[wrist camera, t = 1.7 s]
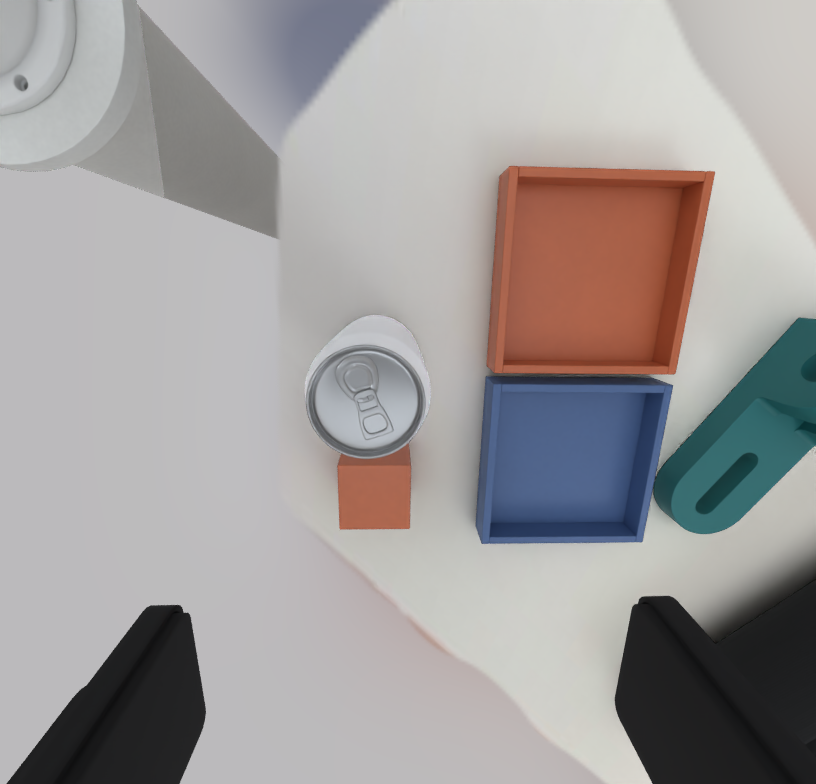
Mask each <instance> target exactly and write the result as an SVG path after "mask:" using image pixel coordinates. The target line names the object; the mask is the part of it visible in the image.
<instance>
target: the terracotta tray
mask: <svg viewBox="0 0 816 784" xmlns="http://www.w3.org/2000/svg"><path fill="white" fill-rule="evenodd" d="M714 175H715V172H711V171H707V172H705V171H674V170H637V169H600V168H562V167H525V166H520V167H518V166H509V167H508V168H507V169H506V170H505V171H504V172H503V173H502V174H501V175H500V177H499V191H498V206H497V220H496V235H495V250H494V264H493V279H492V293H491V308H490V323H489V337H488V352H487V367H488V368H490V369H491V370H492V371H493V372H494V373H549V374H675V373H676V368H677V363H678V358H679V353H680V348H681V343H682V338H683V333H684V327H685V322H686V317H687V312H688V307H689V302H690V297H691V292H692V287H693V282H694V277H695V272H696V266H697V261H698V256H699V251H700V246H701V241H702V236H703V231H704V226H705V221H706V216H707V211H708V205H709V200H710V195H711V190H712V185H713V180H714Z"/></svg>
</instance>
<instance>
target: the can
mask: <svg viewBox="0 0 816 784" xmlns="http://www.w3.org/2000/svg"><path fill="white" fill-rule="evenodd" d="M430 400H431V385H430V380H429V375H428V372H427V369H426V366H425V363H424V360H423V358H422V355H421V352H420V350H419V347H418V345H417V342H416V340H415V338H414V337H413V335H412V333H411V332H410V331H409V330H408V329H407V328H406V327H405V326H404V325H403V324H402V323H400V322H399V321H397V320H395V319H393V318H390V317H387V316H382V315H368V316H364V317H361V318H359V319H357V320H355V321H353V322H352V323H350V324H349V325H347V326H346V327H345V328H344V329H343V330H341V331H340V332H339V333H338V334H337V335H336V336H335V337H334V338H333V339H332V340H331V341H330V342H329V343H328V344H327V345H326V346H325V347H324V348H323V349H322V350H321V351H320V352H319V354H318V355H317V356H316V358H315V359H314V361H313V362H312V364H311V366H310V369H309V371H308V374H307V377H306V382H305V402H306V408H307V414H308V417H309V420H310V423H311V425H312V427H313V429H314V430H315V432H316V433H317V435H318V436H319V437H320V438H321V439H322V441H323V442H325V443H326V444H327V445H328V446H329V447H331V448H332V449H334V450H335V451H337V452H339V453H341V454H344V455H346V456H349V457H353V458H359V459H374V458H380V457H384V456H387V455H390V454H392V453H394V452H396V451H398V450H400V449H401V448H403V447H404V446H405V445H406V444H407V443H409V442H410V441H411V439H412V438H413V437H414V436H415V434H416V433H417V431H418V430H419V428H420V427H421V425H422V424H423V422H424V420H425V418H426V416H427V413H428V410H429V406H430Z"/></svg>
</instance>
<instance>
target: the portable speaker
mask: <svg viewBox="0 0 816 784" xmlns="http://www.w3.org/2000/svg"><path fill="white" fill-rule="evenodd" d="M716 645H717V646H718V647H719V648H720V650H721V651H722V652H723V653H724V654H725V655H726V656H727V657H728V659H729V660H730V661H731V662H732V663H733V664H734V665H735V666H736V668H737V669H738V670H739V671H740V672H741V673H742V674H743V676H744V677H745V678H746V679H747V680H748V681H749V682H750V683H751V685H752V686H753V687H754V688H755V689H756V690H757V691H758V692H759V694H760V695H761V696H762V697H763V698H764V699H765V700H766V701H767V703H768V704H769V705H770V706H771V707H772V708H773V709H774V710H775V712H776V713H777V714H778V715H779V716H780V717H781V718H782V719H783V721H784V722H785V723H786V724H787V725H788V726H789V727H790V728H791V730H792V731H793V732H794V733H795V734H796V735H797V736H798V737H799V739H800V740H801V741H802V742H803V743H804V744H805V745H806V746H807V748H808V749H809V750H810V751H811V752H812V753H813V754H814V756H815V757H816V579H815V580H814V581H812V582H811V583H809V584H808V585H806V586H805V587H803V588H801V589H800V590H798V591H797V592H795V593H794V594H793V595H791V596H790V597H788V598H787V599H785V600H784V601H782V602H780V603H779V604H777V605H776V606H774V607H773V608H771V609H769V610H768V611H766V612H765V613H763V614H762V615H760V616H759V617H757V618H755V619H754V620H752V621H751V622H749V623H748V624H746V625H745V626H743V627H741V628H740V629H738V630H737V631H735V632H734V633H732V634H731V635H729V636H727V637H726V638H724V639H723V640H721V641H720V642H718V643H716Z"/></svg>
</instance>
